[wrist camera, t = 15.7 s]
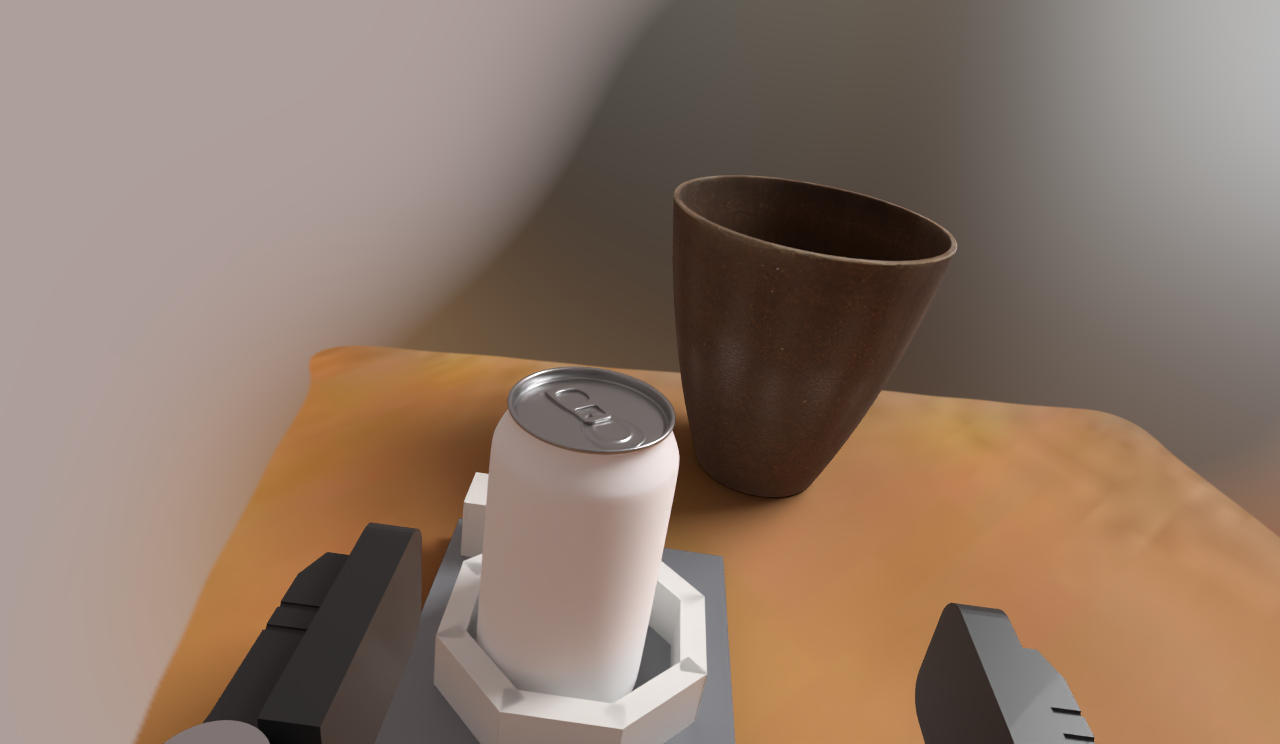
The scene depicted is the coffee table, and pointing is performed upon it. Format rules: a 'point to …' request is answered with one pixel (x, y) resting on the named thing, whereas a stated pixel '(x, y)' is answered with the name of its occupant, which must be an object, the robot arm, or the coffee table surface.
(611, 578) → the can
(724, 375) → the plant pot
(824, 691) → the coffee table surface
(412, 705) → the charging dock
